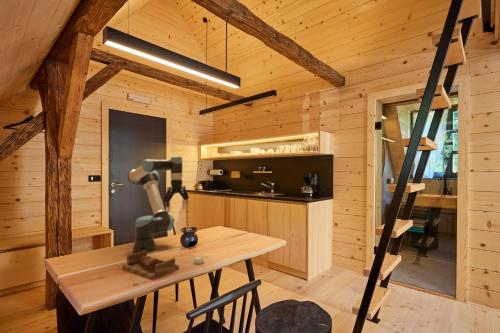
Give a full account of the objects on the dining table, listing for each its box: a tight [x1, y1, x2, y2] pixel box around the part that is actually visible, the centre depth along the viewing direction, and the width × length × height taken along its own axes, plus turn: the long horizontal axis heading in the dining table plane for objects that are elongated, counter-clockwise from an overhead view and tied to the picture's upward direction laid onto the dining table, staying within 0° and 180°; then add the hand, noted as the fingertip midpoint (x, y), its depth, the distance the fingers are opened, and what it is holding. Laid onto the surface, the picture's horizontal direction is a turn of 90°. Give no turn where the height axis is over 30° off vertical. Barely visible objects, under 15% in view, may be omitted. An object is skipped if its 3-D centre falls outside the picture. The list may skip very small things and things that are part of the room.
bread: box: [139, 255, 159, 270], centre depth 153 cm, size 6×19×6 cm, turn 43°
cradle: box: [121, 250, 180, 281], centre depth 152 cm, size 27×18×7 cm, turn 57°
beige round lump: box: [192, 255, 205, 265], centre depth 163 cm, size 6×6×3 cm
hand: (176, 210), depth 181 cm, fingers open, 13 cm apart
